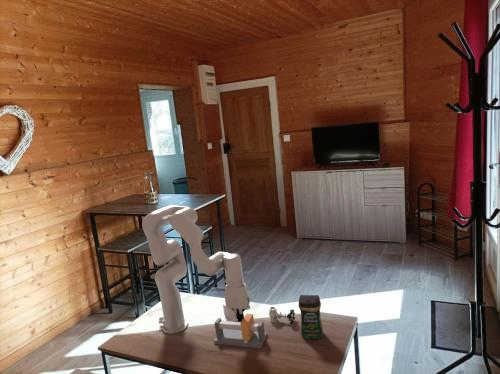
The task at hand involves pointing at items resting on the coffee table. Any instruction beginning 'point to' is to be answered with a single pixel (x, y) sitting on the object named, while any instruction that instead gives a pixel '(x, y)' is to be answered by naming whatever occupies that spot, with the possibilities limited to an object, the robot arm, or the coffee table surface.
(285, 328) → the coffee table surface
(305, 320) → the coffee jar
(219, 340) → the slider rail fixture
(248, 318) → the orange rectangular prism
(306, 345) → the coffee table surface
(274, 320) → the valve
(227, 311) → the cylinder with rectangular tab
